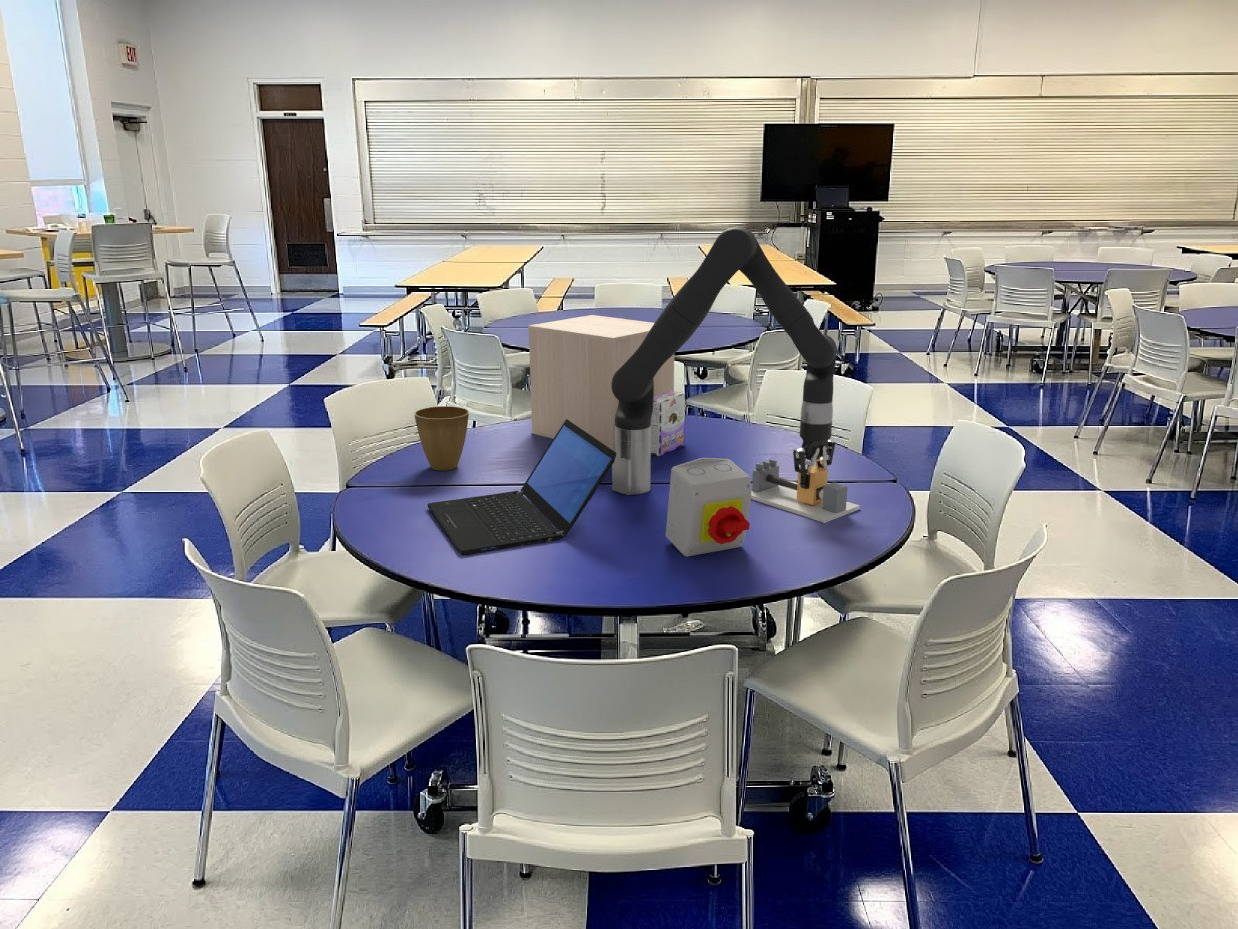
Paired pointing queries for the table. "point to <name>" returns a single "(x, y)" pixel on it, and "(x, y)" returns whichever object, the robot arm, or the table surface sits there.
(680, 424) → the candy box
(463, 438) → the plant pot
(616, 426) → the robot arm
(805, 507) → the cord rig
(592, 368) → the cabinet
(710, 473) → the electrical switch box
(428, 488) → the table surface
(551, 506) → the laptop
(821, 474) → the sleeve
